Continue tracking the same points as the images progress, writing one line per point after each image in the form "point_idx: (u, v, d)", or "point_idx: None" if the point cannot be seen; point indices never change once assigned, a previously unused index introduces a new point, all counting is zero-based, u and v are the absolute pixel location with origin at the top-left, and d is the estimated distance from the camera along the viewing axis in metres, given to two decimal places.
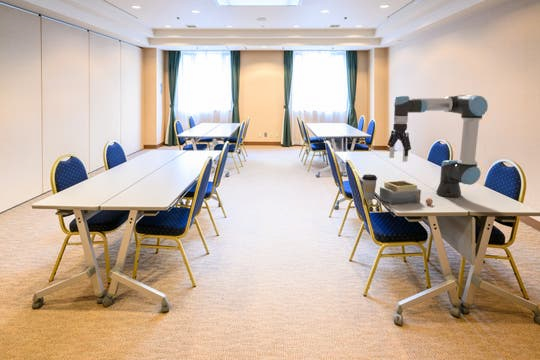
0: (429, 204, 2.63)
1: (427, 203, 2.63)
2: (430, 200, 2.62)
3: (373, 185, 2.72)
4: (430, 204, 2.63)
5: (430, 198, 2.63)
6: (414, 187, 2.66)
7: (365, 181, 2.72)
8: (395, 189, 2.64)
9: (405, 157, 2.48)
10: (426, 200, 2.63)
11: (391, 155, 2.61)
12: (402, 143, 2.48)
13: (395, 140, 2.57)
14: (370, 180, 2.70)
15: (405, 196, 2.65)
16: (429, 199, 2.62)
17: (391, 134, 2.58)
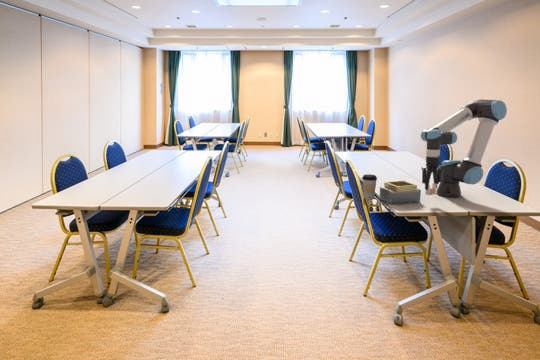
0: (431, 194, 2.62)
1: None
2: (432, 190, 2.61)
3: (373, 185, 2.72)
4: (432, 194, 2.62)
5: None
6: (414, 187, 2.66)
7: (365, 181, 2.72)
8: (395, 189, 2.64)
9: (427, 190, 2.62)
10: None
11: None
12: None
13: (434, 174, 2.61)
14: (370, 180, 2.70)
15: (405, 196, 2.65)
16: (431, 189, 2.61)
17: (438, 169, 2.62)
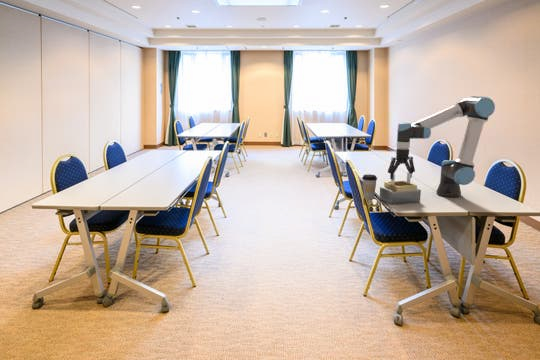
0: None
1: None
2: None
3: (373, 185, 2.72)
4: None
5: None
6: (414, 187, 2.66)
7: (365, 181, 2.72)
8: (395, 189, 2.64)
9: (392, 180, 2.68)
10: None
11: (407, 180, 2.72)
12: None
13: (406, 165, 2.69)
14: (370, 180, 2.70)
15: (405, 196, 2.65)
16: None
17: None
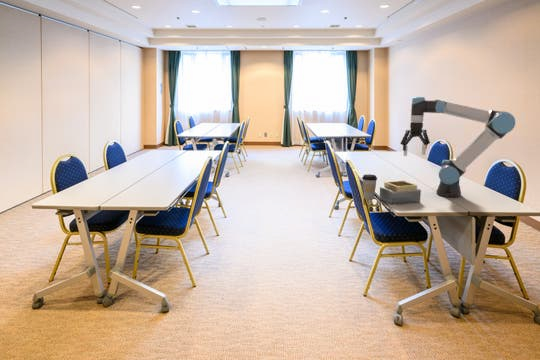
0: None
1: None
2: None
3: (373, 185, 2.72)
4: None
5: None
6: (414, 187, 2.66)
7: (365, 181, 2.72)
8: (395, 189, 2.64)
9: (404, 151, 2.77)
10: None
11: (422, 152, 2.82)
12: None
13: (420, 138, 2.79)
14: (370, 180, 2.70)
15: (405, 196, 2.65)
16: None
17: None
